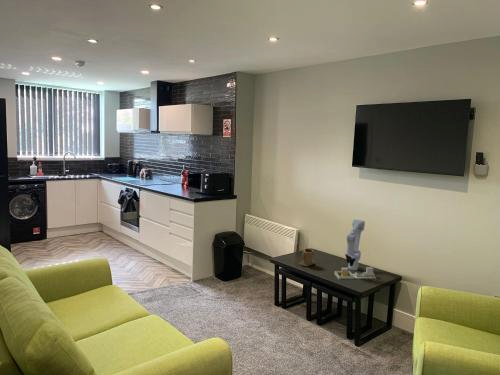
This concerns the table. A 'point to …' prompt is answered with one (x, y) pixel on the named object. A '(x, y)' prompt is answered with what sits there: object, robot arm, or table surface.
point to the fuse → (369, 271)
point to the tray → (344, 276)
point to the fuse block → (363, 275)
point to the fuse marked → (344, 272)
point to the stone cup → (307, 257)
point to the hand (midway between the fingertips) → (349, 264)
